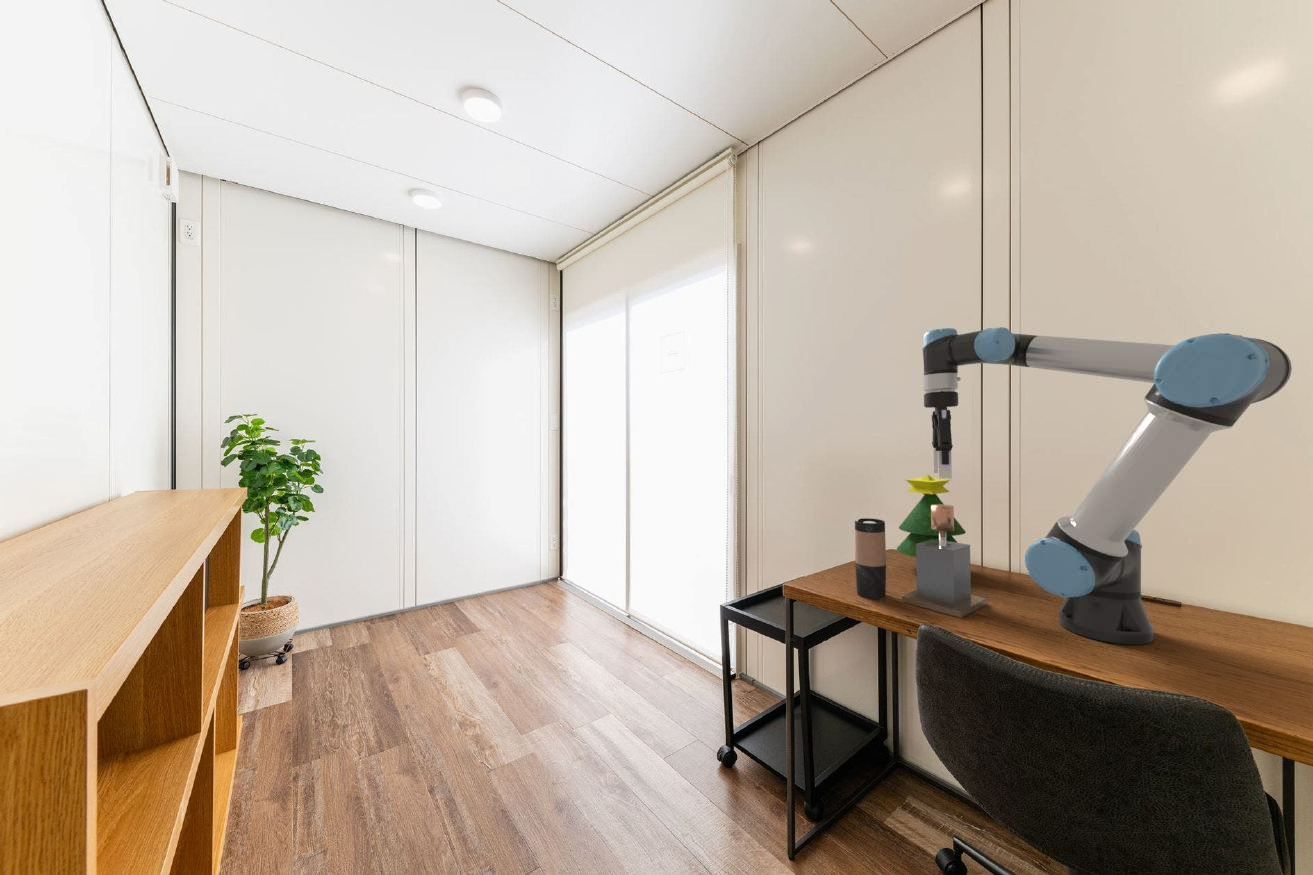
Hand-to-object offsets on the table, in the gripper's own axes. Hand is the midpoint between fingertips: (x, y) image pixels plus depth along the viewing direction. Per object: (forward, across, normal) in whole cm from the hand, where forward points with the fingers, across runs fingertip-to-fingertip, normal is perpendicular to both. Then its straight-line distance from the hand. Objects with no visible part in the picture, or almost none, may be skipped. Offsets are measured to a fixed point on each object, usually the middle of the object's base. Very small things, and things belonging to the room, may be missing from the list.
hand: (942, 475), depth 125 cm
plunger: (+29, 0, 0) cm, 29 cm away
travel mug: (+33, +1, +17) cm, 37 cm away
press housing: (+33, 0, 0) cm, 33 cm away
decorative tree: (+33, +29, +1) cm, 44 cm away
